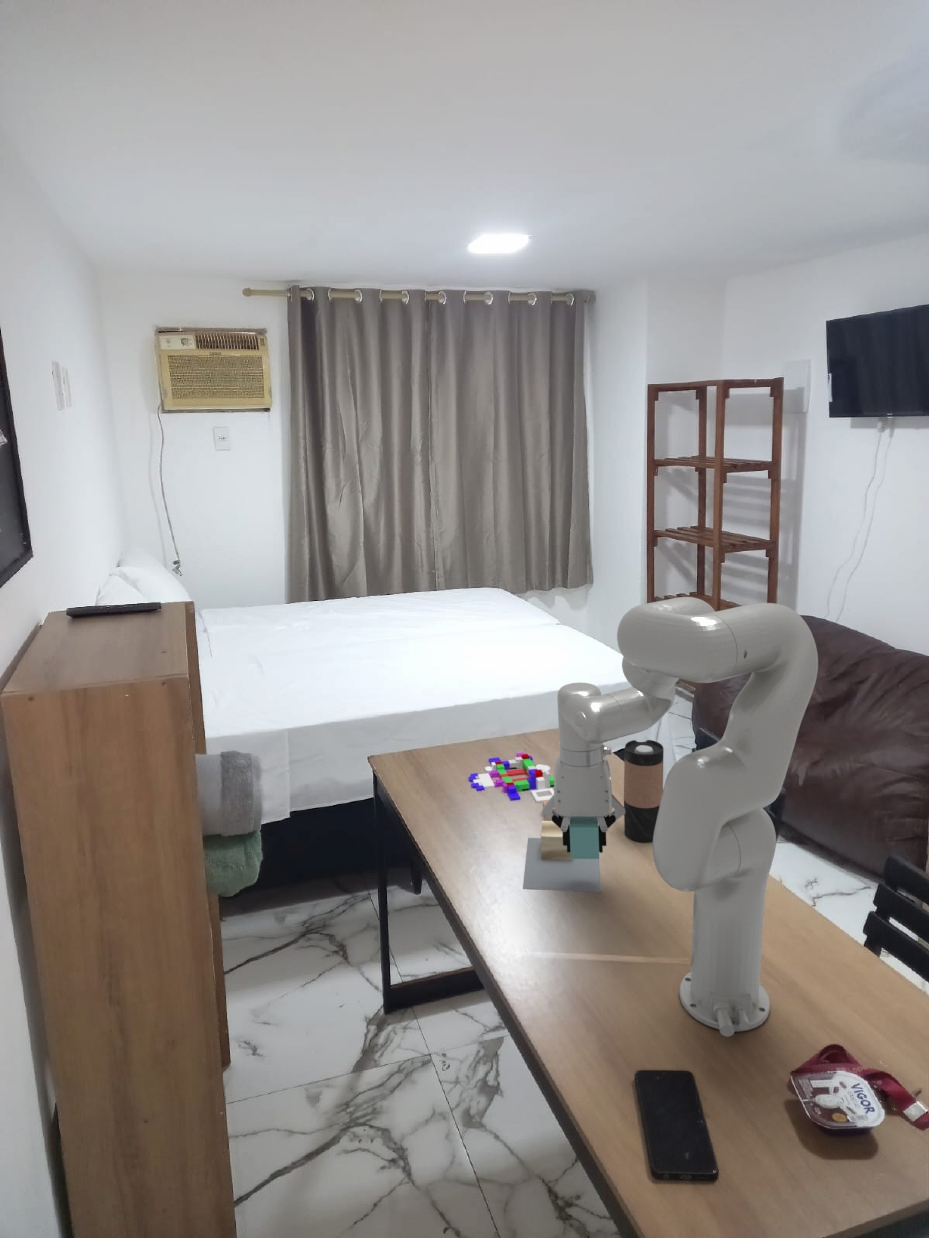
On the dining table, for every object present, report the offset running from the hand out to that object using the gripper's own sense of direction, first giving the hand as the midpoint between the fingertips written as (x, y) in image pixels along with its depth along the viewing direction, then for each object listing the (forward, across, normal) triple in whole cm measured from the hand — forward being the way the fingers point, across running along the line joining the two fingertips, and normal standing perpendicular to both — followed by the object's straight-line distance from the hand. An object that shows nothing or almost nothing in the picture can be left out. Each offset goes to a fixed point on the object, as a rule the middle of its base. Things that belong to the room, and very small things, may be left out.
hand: (584, 847), depth 145 cm
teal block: (+1, 0, 0) cm, 1 cm away
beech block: (+7, +5, -11) cm, 14 cm away
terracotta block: (+5, +7, -27) cm, 29 cm away
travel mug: (+8, -12, -19) cm, 24 cm away
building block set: (+7, +16, -44) cm, 48 cm away
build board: (+8, +4, -7) cm, 12 cm away
